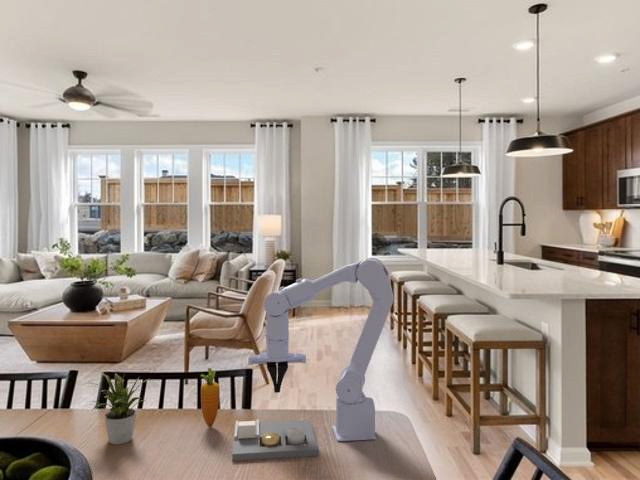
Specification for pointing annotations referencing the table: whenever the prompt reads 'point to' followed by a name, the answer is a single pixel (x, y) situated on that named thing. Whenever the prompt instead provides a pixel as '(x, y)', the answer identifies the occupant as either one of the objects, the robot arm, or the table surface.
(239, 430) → the white block
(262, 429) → the control panel
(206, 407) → the carrot
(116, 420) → the house plant
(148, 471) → the table surface
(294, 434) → the white button
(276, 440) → the brass button
